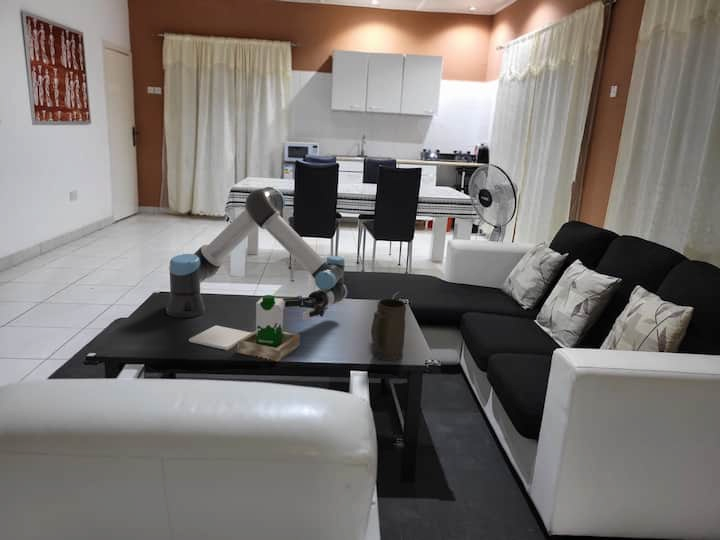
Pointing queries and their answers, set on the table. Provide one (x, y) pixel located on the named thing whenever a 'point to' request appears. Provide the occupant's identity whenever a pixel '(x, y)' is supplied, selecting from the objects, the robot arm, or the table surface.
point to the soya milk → (269, 321)
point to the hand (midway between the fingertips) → (287, 312)
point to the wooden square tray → (276, 354)
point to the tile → (219, 337)
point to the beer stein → (389, 329)
